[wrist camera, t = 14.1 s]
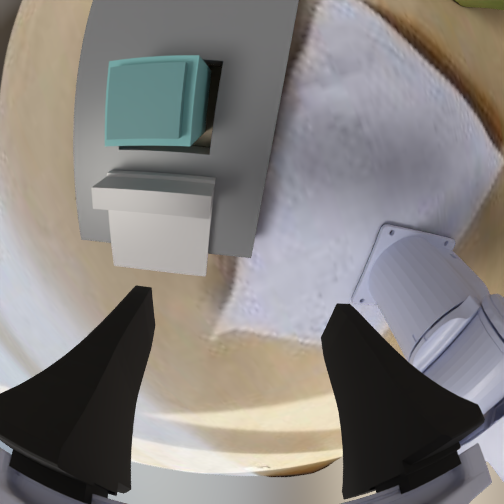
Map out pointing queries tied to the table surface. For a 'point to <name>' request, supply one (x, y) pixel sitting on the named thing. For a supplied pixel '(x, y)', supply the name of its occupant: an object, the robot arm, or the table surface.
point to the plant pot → (482, 3)
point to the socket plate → (226, 114)
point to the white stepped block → (157, 219)
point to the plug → (156, 101)
